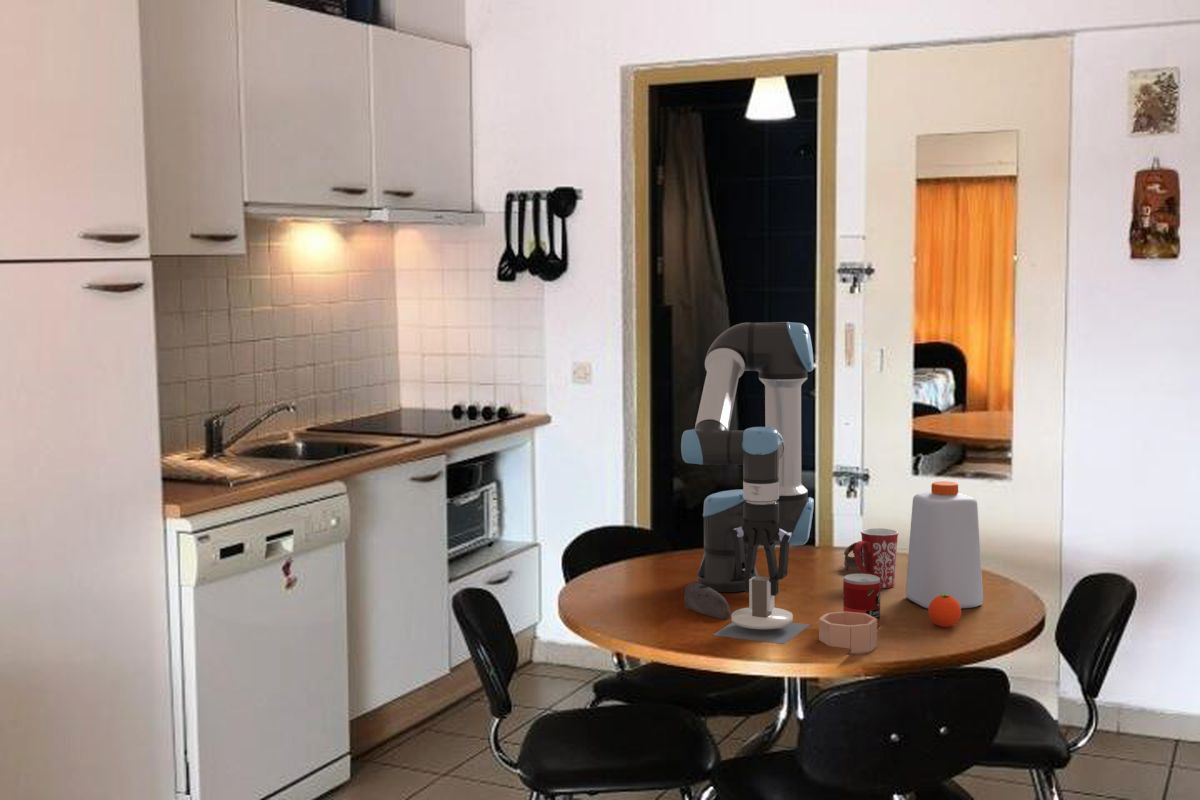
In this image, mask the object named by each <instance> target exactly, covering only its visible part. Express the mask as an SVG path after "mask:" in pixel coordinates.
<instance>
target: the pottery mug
mask: <svg viewBox="0 0 1200 800" xmlns="http://www.w3.org/2000/svg"><path fill="white" fill-rule="evenodd" d="M857 542H858V541H857ZM857 542H853V543H852V544H850V545H848V546H847V547H846V549H845V550H844V552H843V553H844V554H843V555H844V562H843V563H844V564H843V565H844V568H845V570H846V571H848V570H849V568H858V566H857V564H856V561H855V557H854V556H850V555H849V554H851V552H852V553H853V554H854V548H855V545H856V543H857ZM860 557H861V561H862V563H863V552H862V547H861V551H860Z"/></svg>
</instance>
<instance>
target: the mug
mask: <svg viewBox="0 0 1200 800" xmlns="http://www.w3.org/2000/svg"><path fill="white" fill-rule="evenodd" d="M860 534H861V540H860V541H857V543H856V542H855V543H856V545H855V548H854V553H853V557H855V561H856V564H857V566H858V567H857V569H859V571H860V574H870V575H875V576H877V577H879V578H880V590H882V589H883V588H887V589H892V588H894V587H893V586H895V580H896V566H897V551H898V550H897V549H898V536H899V531H898V530H895V529H892V528H884V527H883V528H882V527H878V528H877V527H876V528H875V527H873V528H872V527H871V528H869V527H868V528H865V529H861V530H860ZM861 547H862V552H863V563H862V561H861V557H860V551H861ZM891 587H892V588H891ZM883 590H884V589H883Z"/></svg>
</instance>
